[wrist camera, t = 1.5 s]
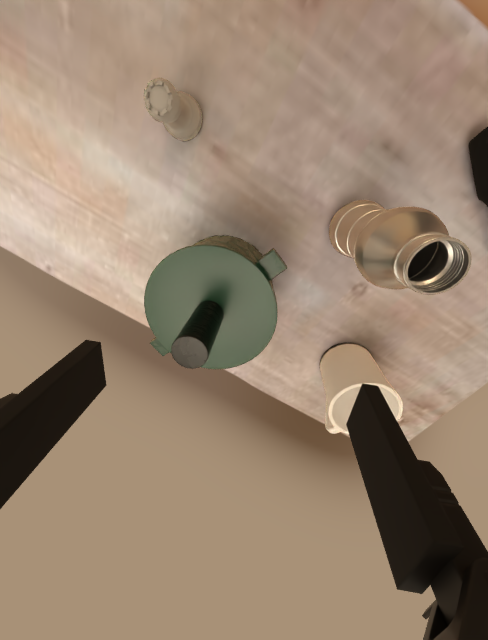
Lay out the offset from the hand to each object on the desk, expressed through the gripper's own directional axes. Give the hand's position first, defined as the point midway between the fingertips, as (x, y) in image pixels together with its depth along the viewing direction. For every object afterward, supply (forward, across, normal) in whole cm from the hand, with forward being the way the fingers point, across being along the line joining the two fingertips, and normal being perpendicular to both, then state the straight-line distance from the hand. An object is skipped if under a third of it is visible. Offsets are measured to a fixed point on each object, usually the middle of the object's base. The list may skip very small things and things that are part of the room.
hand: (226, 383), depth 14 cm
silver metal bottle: (+27, +12, +6) cm, 30 cm away
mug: (+27, +16, -15) cm, 34 cm away
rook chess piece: (+27, -10, +15) cm, 32 cm away
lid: (+16, -4, -4) cm, 17 cm away
